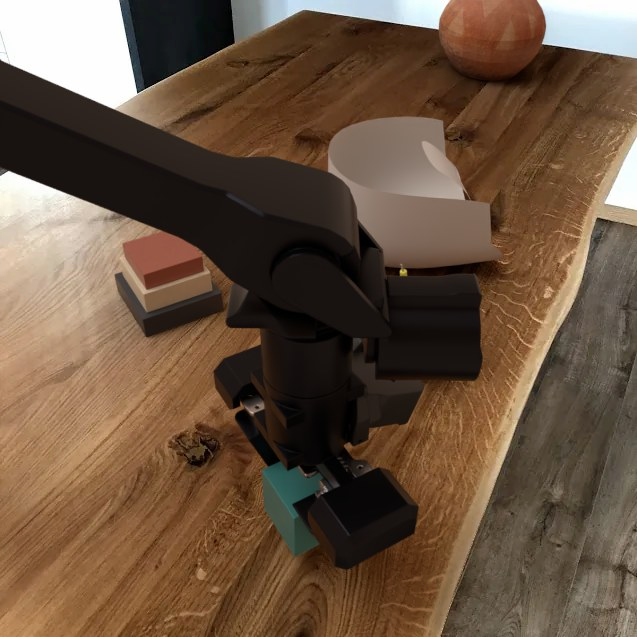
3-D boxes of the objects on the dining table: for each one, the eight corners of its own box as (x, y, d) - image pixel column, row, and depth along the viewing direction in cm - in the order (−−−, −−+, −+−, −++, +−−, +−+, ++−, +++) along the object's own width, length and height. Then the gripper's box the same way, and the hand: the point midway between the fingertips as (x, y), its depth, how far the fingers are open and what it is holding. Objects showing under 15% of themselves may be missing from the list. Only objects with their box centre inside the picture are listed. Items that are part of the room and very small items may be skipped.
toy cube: (294, 557, 55) (294, 519, 51) (263, 508, 58) (261, 469, 55) (351, 528, 57) (353, 489, 53) (318, 482, 60) (318, 443, 57)
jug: (423, 79, 129) (436, -42, 116) (446, 45, 142) (460, -69, 129) (528, 96, 125) (554, -30, 112) (542, 58, 137) (567, -58, 124)
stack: (146, 337, 77) (135, 285, 73) (117, 291, 83) (106, 240, 78) (223, 310, 81) (218, 258, 76) (191, 267, 87) (184, 217, 82)
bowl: (317, 200, 98) (318, 118, 91) (456, 192, 100) (469, 111, 92) (339, 292, 83) (342, 203, 76) (502, 281, 85) (521, 192, 77)
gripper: (502, 413, 43) (465, 557, 54) (337, 254, 56) (332, 396, 66) (344, 492, 39) (336, 632, 49) (202, 301, 51) (219, 445, 61)
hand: (307, 511), depth 56 cm, fingers closed on toy cube, 5 cm apart
